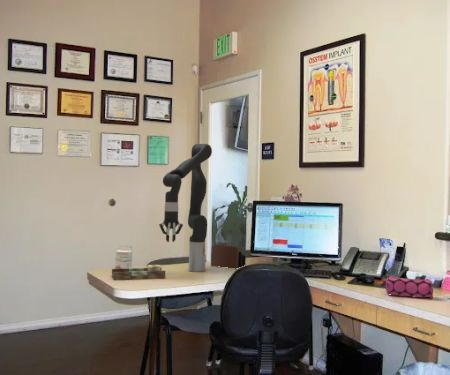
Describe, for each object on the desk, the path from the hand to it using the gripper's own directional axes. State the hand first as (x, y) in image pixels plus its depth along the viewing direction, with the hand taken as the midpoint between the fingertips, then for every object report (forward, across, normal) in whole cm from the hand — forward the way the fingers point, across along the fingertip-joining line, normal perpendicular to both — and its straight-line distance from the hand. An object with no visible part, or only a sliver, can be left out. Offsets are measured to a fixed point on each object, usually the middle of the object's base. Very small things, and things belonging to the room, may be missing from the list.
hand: (170, 241), depth 271 cm
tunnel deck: (+19, +17, 0) cm, 26 cm away
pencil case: (+19, -100, +72) cm, 125 cm away
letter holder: (+19, -43, -25) cm, 53 cm away
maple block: (+17, +9, 0) cm, 19 cm away
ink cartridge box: (+19, +23, -20) cm, 36 cm away
